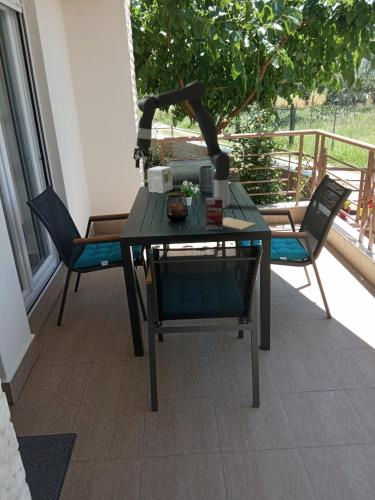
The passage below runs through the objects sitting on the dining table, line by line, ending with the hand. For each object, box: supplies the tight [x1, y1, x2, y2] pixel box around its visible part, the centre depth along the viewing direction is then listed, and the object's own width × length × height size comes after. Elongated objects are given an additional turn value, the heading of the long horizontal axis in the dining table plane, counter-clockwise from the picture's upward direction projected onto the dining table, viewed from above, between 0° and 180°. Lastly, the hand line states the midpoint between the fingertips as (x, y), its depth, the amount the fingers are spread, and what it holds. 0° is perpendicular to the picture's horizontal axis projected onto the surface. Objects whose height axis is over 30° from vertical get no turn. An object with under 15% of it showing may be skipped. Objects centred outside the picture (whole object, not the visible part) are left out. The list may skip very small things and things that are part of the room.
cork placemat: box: [223, 216, 256, 231], centre depth 210 cm, size 12×20×1 cm, turn 44°
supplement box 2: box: [205, 197, 224, 231], centre depth 202 cm, size 9×5×16 cm, turn 92°
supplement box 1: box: [147, 165, 174, 194], centre depth 293 cm, size 13×13×18 cm
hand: (141, 168), depth 212 cm, fingers open, 8 cm apart
